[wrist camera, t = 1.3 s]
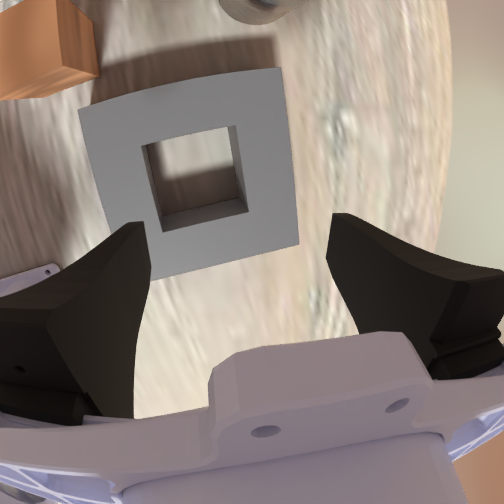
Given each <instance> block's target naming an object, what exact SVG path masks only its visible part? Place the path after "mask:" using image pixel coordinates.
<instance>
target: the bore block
mask: <svg viewBox="0 0 504 504" xmlns="http://www.w3.org/2000/svg"><path fill="white" fill-rule="evenodd" d="M78 114H79V119H80V123H81V128H82V132H83V137H84V141H85V145H86V149H87V153H88V157H89V161H90V164H91V168H92V172H93V176H94V179H95V183H96V186H97V190H98V193H99V196H100V200H101V203H102V206H103V209H104V212H105V216H106V219H107V222H108V225H109V228H110V231H111V234H113V233H114V232H115V231H116V230H118V229H119V228H120V227H122V226H123V225H124V224H126V223H128V222H136V221H144V225H145V232H146V238H147V243H148V249H149V255H150V260H151V266H152V268H151V278H150V281H154V280H158V279H162V278H166V277H170V276H174V275H178V274H182V273H187V272H191V271H195V270H199V269H203V268H207V267H211V266H215V265H219V264H223V263H227V262H231V261H235V260H239V259H243V258H247V257H251V256H255V255H259V254H263V253H267V252H271V251H275V250H279V249H283V248H287V247H291V246H295V245H299V232H298V219H297V207H296V196H295V185H294V174H293V164H292V154H291V145H290V136H289V127H288V118H287V110H286V102H285V94H284V86H283V78H282V71H281V67H277V68H266V69H256V70H247V71H239V72H231V73H224V74H218V75H211V76H205V77H200V78H194V79H189V80H184V81H179V82H174V83H169V84H165V85H161V86H156V87H152V88H148V89H144V90H140V91H136V92H133V93H129V94H125V95H122V96H118V97H115V98H112V99H108V100H105V101H102V102H99V103H96V104H93V105H90V106H87V107H84V108H81V109H78ZM222 127H228V132H229V138H230V145H231V151H232V157H233V163H234V169H235V176H236V182H237V188H238V194H239V198H237V199H232V200H228V201H223V202H219V203H214V204H210V205H206V206H202V207H197V208H193V209H189V210H185V211H181V212H177V213H173V214H169V215H165V216H163V214H162V210H161V207H160V203H159V199H158V195H157V191H156V187H155V183H154V179H153V174H152V170H151V166H150V162H149V157H148V153H147V148H146V144H150V143H154V142H158V141H162V140H166V139H170V138H175V137H179V136H183V135H188V134H192V133H197V132H202V131H207V130H212V129H217V128H222Z"/></svg>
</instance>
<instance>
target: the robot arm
mask: <svg viewBox="0 0 504 504" xmlns="http://www.w3.org/2000/svg"><path fill="white" fill-rule="evenodd" d="M326 260H327V263H328V266H329V269H330V272H331V275H332V277H333V279H334V282H335V284H336V286H337V287H338V289H339V291H340V293H341V295H342V297H343V299H344V301H345V303H346V305H347V307H348V309H349V311H350V313H351V315H352V317H353V319H354V321H355V324H356V326H357V329H358V332H359V335H353V336H346V337H339V338H332V339H324V340H316V341H308V342H299V343H290V344H280V345H269V346H261V347H257V348H253V349H249V350H245V351H241V352H236V353H235V354H233V355H231V356H230V357H229V358H227V359H226V360H224V361H223V362H221V363H220V364H219V365H217V366H216V367H214V368H213V370H212V373H211V376H210V379H209V382H208V398H209V406H207V407H203V408H198V409H193V410H188V411H183V412H178V413H173V414H167V415H161V416H155V417H149V418H143V419H134V368H135V355H136V344H137V338H138V332H139V328H140V324H141V320H142V316H143V311H144V307H145V303H146V299H147V295H148V291H149V286H150V278H151V268H152V266H151V260H150V255H149V249H148V243H147V238H146V232H145V225H144V221H136V222H128V223H126V224H124V225H123V226H122V227H120V228H119V229H118V230H116V231H115V232H114V233H113V234H111V235H110V236H109V237H108V238H106V239H105V240H104V241H103V242H102V243H100V244H99V245H98V246H96V247H95V248H94V249H92V250H91V251H90V252H88V253H87V254H86V255H84V256H83V257H82V258H80V259H79V260H77V261H76V262H74V263H73V264H71V265H69V266H68V267H66V268H65V269H63V270H61V271H60V269H59V267H58V266H57V265H56V264H54V263H53V264H48V265H45V266H42V267H38V268H35V269H32V270H28V271H25V272H22V273H18V274H15V275H12V276H9V277H6V278H2V279H0V504H57V503H58V502H59V503H62V504H469V503H468V500H467V498H466V495H465V493H464V490H463V488H462V485H461V483H460V480H459V478H458V475H457V473H456V470H455V468H454V466H453V463H452V462H453V461H455V460H456V459H458V458H460V457H462V456H463V455H465V454H467V453H469V452H470V451H472V450H474V449H475V448H477V447H478V446H480V445H482V444H483V443H485V442H486V441H488V440H490V439H491V438H492V437H494V436H496V435H497V434H499V433H500V432H502V431H503V430H504V344H503V345H502V344H501V342H500V341H499V340H498V338H500V336H501V332H500V330H499V329H498V328H497V326H498V324H499V322H500V321H501V319H502V317H503V315H504V272H503V271H502V270H500V269H494V268H487V267H481V266H475V265H471V264H467V263H463V262H458V261H455V260H451V259H448V258H445V257H442V256H439V255H436V254H433V253H430V252H428V251H425V250H423V249H420V248H418V247H415V246H413V245H411V244H409V243H407V242H404V241H402V240H400V239H398V238H396V237H394V236H392V235H390V234H388V233H387V232H385V231H383V230H381V229H379V228H377V227H375V226H373V225H372V224H370V223H368V222H366V221H364V220H362V219H360V218H358V217H356V216H354V215H351V214H348V213H333V214H332V221H331V228H330V234H329V241H328V247H327V253H326ZM46 270H49V271H50V273H48V272H47V271H46Z"/></svg>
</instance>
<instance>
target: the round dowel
mask: <svg viewBox="0 0 504 504" xmlns="http://www.w3.org/2000/svg"><path fill="white" fill-rule="evenodd" d="M306 1H308V0H219V3H220V5H221V7H222V8H223V10H224V11H225V12H226V13H227V14H228V15H229V16H231V17H232V18H234V19H235V20H237V21H239V22H242V23H245V24H250V25H263V24H267V23H270V22H273V21H275V20H277V19H278V18H280V17H281V16H283V15H285V14H286V13H288V12H289V11H291V10H293V9H294V8H296V7H298V6H299V5H301V4H303V3H305V2H306Z"/></svg>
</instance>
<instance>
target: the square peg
mask: <svg viewBox="0 0 504 504" xmlns="http://www.w3.org/2000/svg"><path fill="white" fill-rule="evenodd" d="M98 77H100V72H99V66H98V59H97V52H96V45H95V38H94V30H93V22H92V21H91V20H90V19H89V18H88V17H87V16H86V15H85V14H84V13H83V12H82V11H81V10H80V9H78V8H77V7H76V6H75V5H74V4H73V3H72V2H71V1H70V0H24V1H22V2H20V3H18V4H16V5H14V6H12V7H11V8H9V9H7V10H5V11H3V12H1V13H0V101H1V100H12V99H25V98H43V97H47V96H49V95H52V94H54V93H57V92H59V91H62V90H64V89H67V88H70V87H72V86H75V85H78V84H81V83H84V82H86V81H89V80H92V79H95V78H98Z"/></svg>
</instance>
